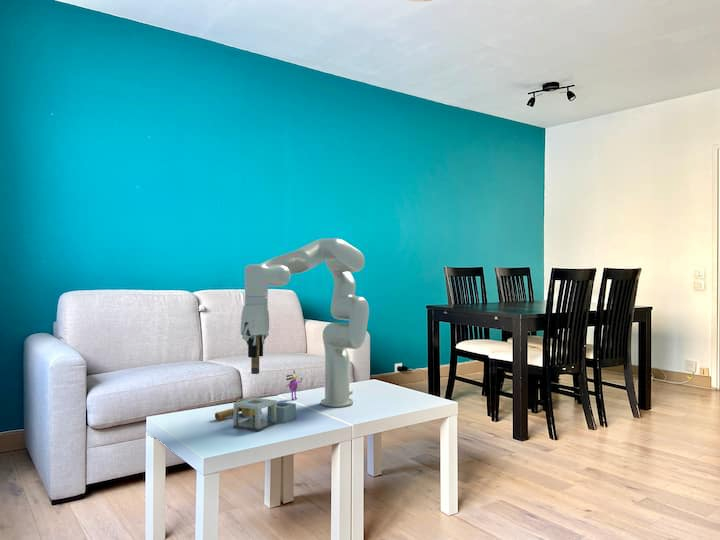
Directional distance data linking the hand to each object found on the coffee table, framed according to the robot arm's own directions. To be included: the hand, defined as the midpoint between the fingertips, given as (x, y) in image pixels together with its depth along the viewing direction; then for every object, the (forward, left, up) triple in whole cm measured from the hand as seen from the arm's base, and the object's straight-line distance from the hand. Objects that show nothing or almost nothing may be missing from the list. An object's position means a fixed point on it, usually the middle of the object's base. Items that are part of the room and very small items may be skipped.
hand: (255, 356), depth 177 cm
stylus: (0, 0, -6) cm, 6 cm away
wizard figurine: (-38, -10, -23) cm, 46 cm away
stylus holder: (-11, +3, -23) cm, 26 cm away
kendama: (-8, -13, -24) cm, 28 cm away
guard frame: (0, 0, -23) cm, 23 cm away
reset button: (0, 0, -20) cm, 20 cm away
